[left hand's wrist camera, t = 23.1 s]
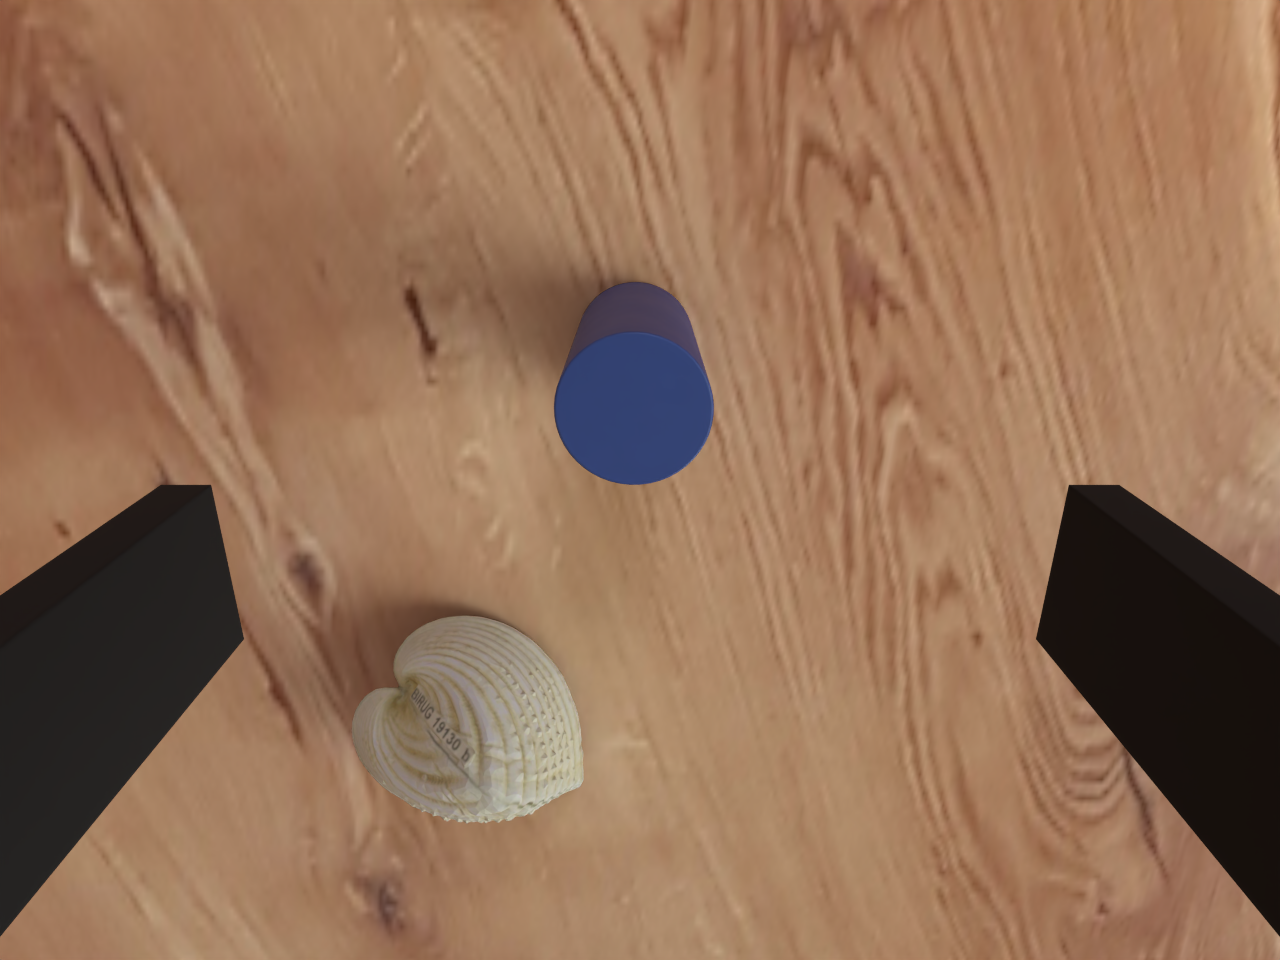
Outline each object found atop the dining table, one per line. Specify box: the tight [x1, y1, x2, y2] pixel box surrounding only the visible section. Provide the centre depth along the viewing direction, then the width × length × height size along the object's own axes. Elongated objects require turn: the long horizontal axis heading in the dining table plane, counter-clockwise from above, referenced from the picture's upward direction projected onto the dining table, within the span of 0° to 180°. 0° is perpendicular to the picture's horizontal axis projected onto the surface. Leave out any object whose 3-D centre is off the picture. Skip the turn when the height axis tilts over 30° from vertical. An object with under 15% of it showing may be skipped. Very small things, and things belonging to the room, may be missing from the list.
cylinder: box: [554, 282, 714, 485], centre depth 25 cm, size 4×4×9 cm
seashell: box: [352, 615, 583, 824], centre depth 32 cm, size 8×8×8 cm
